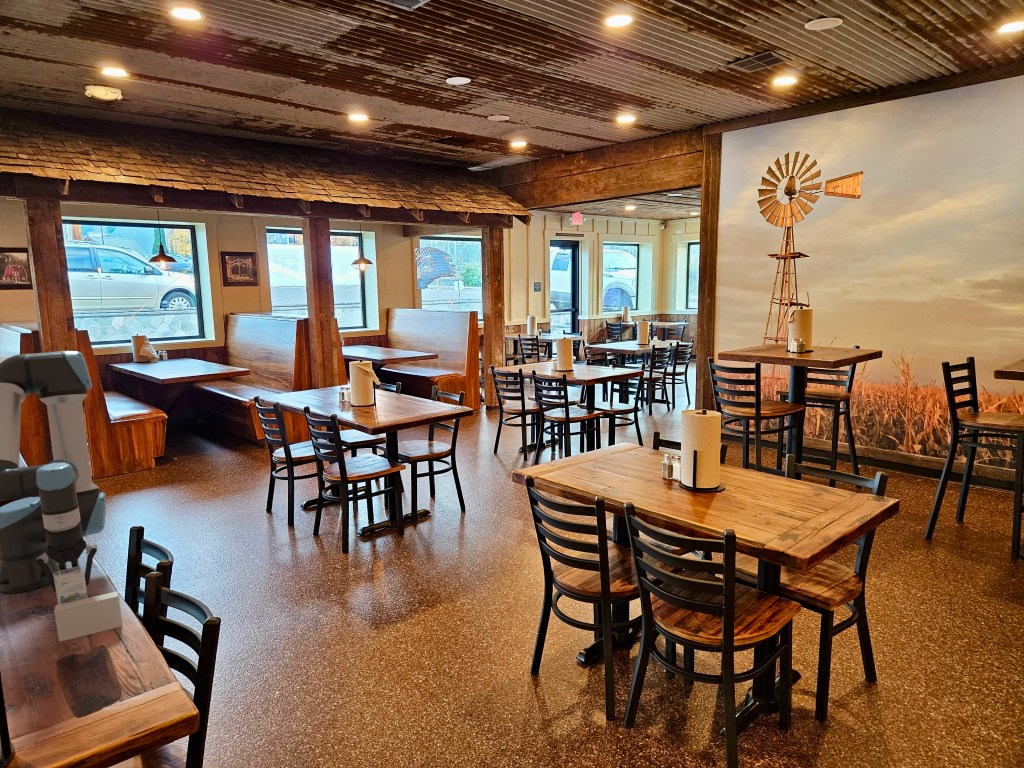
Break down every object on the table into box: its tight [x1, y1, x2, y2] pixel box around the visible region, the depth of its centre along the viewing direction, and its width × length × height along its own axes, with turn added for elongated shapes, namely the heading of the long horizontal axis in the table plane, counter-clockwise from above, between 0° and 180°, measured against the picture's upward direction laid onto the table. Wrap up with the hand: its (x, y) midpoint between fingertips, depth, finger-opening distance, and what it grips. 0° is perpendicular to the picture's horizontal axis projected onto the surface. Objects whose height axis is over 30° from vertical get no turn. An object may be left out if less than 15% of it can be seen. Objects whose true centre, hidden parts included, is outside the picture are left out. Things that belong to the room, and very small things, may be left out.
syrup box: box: [53, 565, 89, 605], centre depth 164 cm, size 6×6×14 cm
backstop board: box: [53, 590, 123, 643], centre depth 162 cm, size 3×13×8 cm, turn 120°
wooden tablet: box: [56, 644, 122, 717], centre depth 143 cm, size 26×2×10 cm
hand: (76, 613), depth 169 cm, fingers closed
